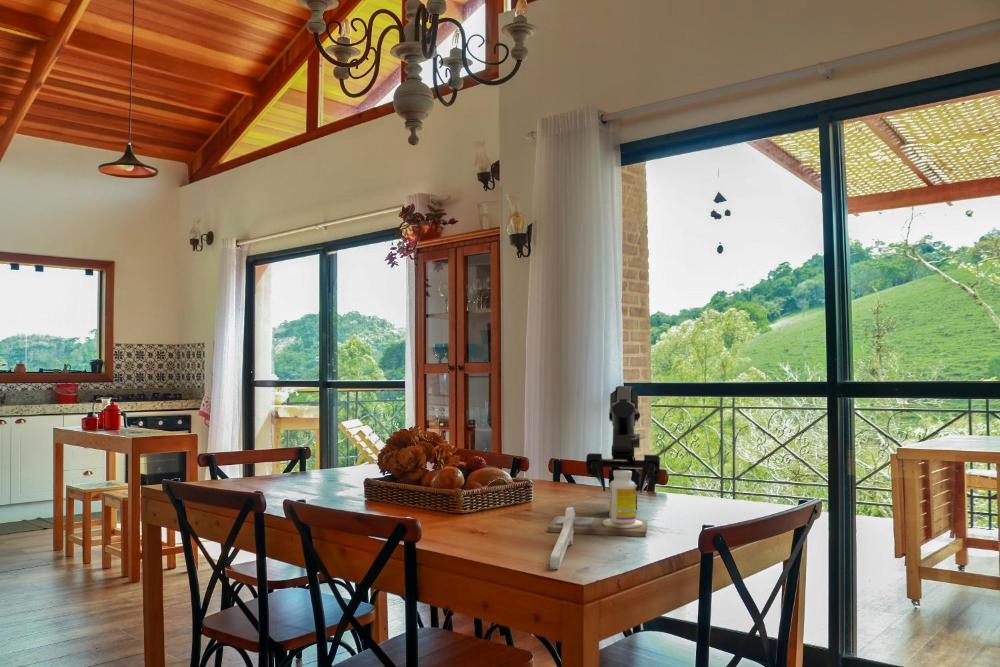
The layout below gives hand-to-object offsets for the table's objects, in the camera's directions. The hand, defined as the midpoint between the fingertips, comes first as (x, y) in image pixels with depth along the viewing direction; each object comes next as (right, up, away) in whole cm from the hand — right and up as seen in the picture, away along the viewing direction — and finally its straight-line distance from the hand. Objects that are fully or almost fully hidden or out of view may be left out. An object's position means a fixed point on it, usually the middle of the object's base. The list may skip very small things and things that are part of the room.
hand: (622, 491), depth 210 cm
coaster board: (-6, -10, +2) cm, 12 cm away
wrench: (-17, -9, -26) cm, 32 cm away
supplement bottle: (0, -8, +1) cm, 8 cm away
